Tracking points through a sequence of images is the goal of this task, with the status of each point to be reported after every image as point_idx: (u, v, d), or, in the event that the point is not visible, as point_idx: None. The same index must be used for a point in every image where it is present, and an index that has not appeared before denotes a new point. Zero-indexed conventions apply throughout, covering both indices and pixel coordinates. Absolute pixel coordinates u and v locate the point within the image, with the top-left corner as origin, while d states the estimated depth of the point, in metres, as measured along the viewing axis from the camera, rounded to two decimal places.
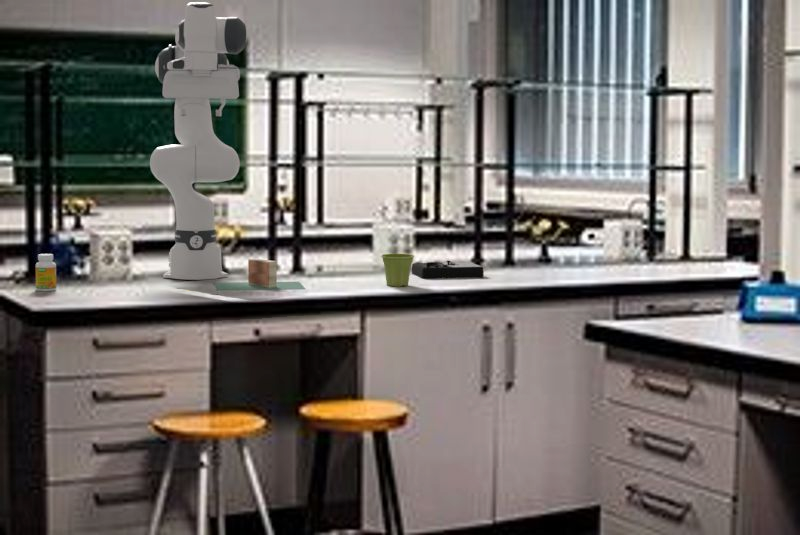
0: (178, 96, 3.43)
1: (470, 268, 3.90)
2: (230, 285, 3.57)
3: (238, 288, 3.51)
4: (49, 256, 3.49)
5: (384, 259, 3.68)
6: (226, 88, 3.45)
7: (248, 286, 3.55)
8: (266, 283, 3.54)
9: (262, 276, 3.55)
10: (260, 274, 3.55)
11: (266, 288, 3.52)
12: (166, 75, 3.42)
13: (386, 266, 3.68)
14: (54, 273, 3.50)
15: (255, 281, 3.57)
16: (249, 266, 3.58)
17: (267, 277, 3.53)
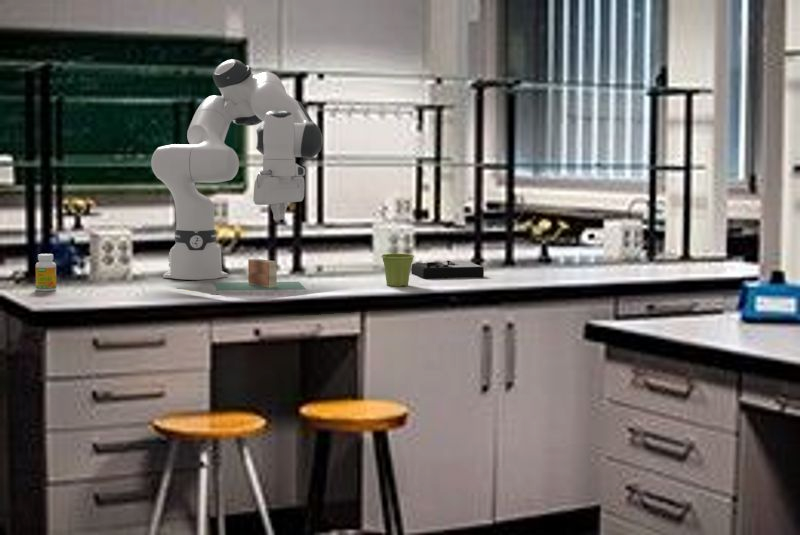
0: None
1: (470, 268, 3.90)
2: (230, 285, 3.57)
3: (238, 288, 3.51)
4: (49, 256, 3.49)
5: (384, 259, 3.68)
6: None
7: (248, 286, 3.55)
8: (266, 283, 3.54)
9: (262, 276, 3.55)
10: (260, 274, 3.55)
11: (266, 288, 3.52)
12: None
13: (386, 266, 3.68)
14: (54, 273, 3.50)
15: (255, 281, 3.57)
16: (249, 266, 3.58)
17: (267, 277, 3.53)
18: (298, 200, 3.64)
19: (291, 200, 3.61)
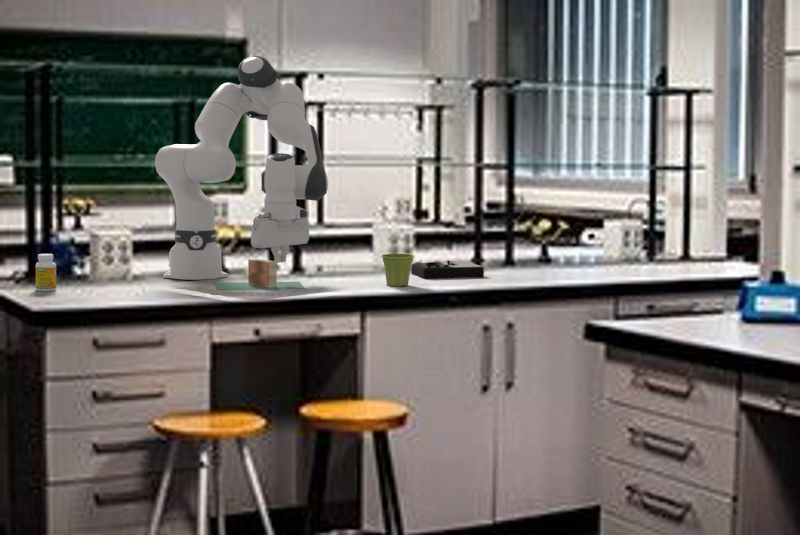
0: None
1: (471, 268, 3.90)
2: (230, 285, 3.57)
3: (238, 288, 3.51)
4: (49, 256, 3.49)
5: (384, 259, 3.68)
6: None
7: (248, 286, 3.55)
8: (266, 283, 3.54)
9: (262, 276, 3.55)
10: (260, 274, 3.55)
11: (266, 288, 3.52)
12: None
13: (386, 266, 3.68)
14: (54, 273, 3.50)
15: (255, 281, 3.57)
16: (249, 266, 3.58)
17: (267, 277, 3.53)
18: (302, 242, 3.65)
19: (293, 242, 3.62)
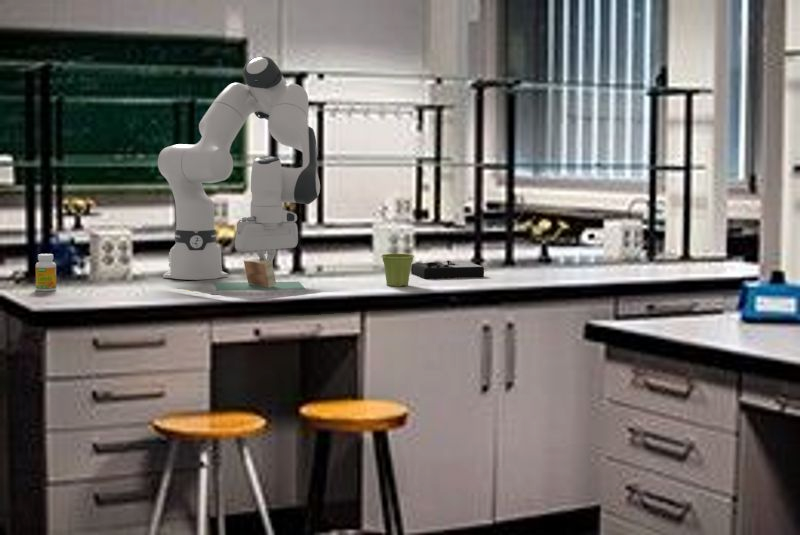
0: None
1: (471, 268, 3.90)
2: (230, 285, 3.57)
3: (238, 288, 3.51)
4: (49, 256, 3.49)
5: (384, 259, 3.68)
6: None
7: (248, 286, 3.55)
8: (265, 283, 3.54)
9: (260, 277, 3.54)
10: (258, 275, 3.55)
11: (266, 288, 3.52)
12: None
13: (386, 266, 3.68)
14: (54, 273, 3.50)
15: (254, 281, 3.57)
16: (245, 267, 3.58)
17: (265, 278, 3.53)
18: (290, 246, 3.61)
19: (280, 246, 3.58)
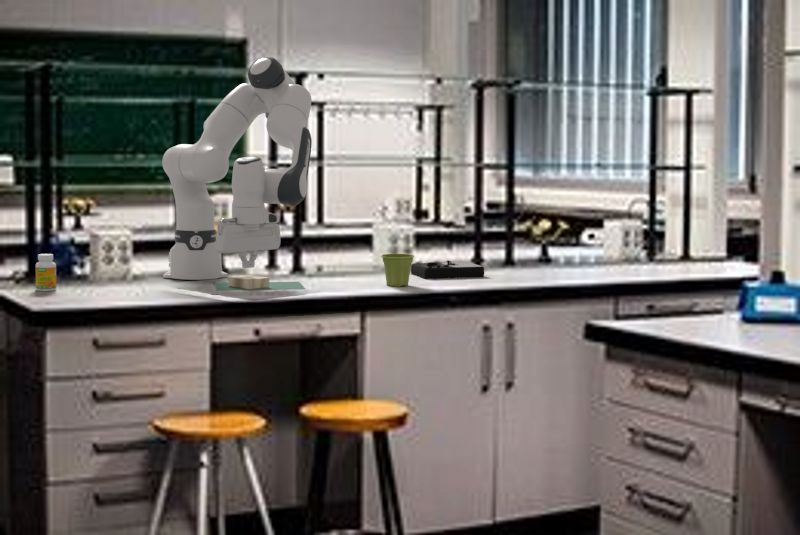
0: None
1: (471, 268, 3.90)
2: None
3: (238, 288, 3.51)
4: (49, 256, 3.49)
5: (384, 259, 3.68)
6: None
7: None
8: (263, 287, 3.53)
9: None
10: None
11: (266, 288, 3.52)
12: None
13: (386, 266, 3.68)
14: (54, 273, 3.50)
15: None
16: None
17: None
18: (272, 248, 3.57)
19: (262, 247, 3.54)
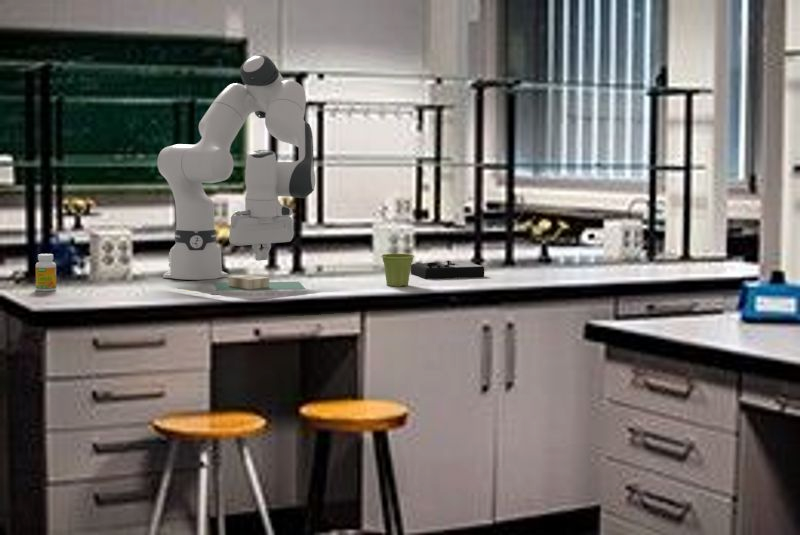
0: None
1: (471, 268, 3.90)
2: None
3: (238, 288, 3.51)
4: (49, 256, 3.49)
5: (384, 259, 3.68)
6: None
7: None
8: (263, 287, 3.53)
9: None
10: None
11: (266, 288, 3.52)
12: None
13: (386, 266, 3.68)
14: (54, 273, 3.50)
15: None
16: None
17: None
18: (285, 240, 3.60)
19: (275, 240, 3.57)
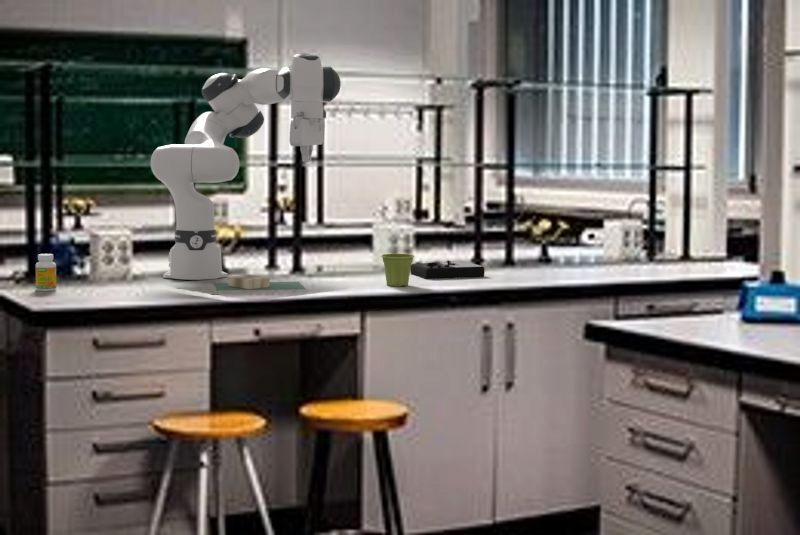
0: None
1: (472, 268, 3.90)
2: None
3: (238, 288, 3.51)
4: (49, 256, 3.49)
5: (384, 259, 3.68)
6: None
7: None
8: (263, 287, 3.53)
9: None
10: None
11: (266, 288, 3.52)
12: None
13: (386, 266, 3.68)
14: (54, 273, 3.50)
15: None
16: None
17: None
18: (320, 143, 3.71)
19: (316, 142, 3.67)
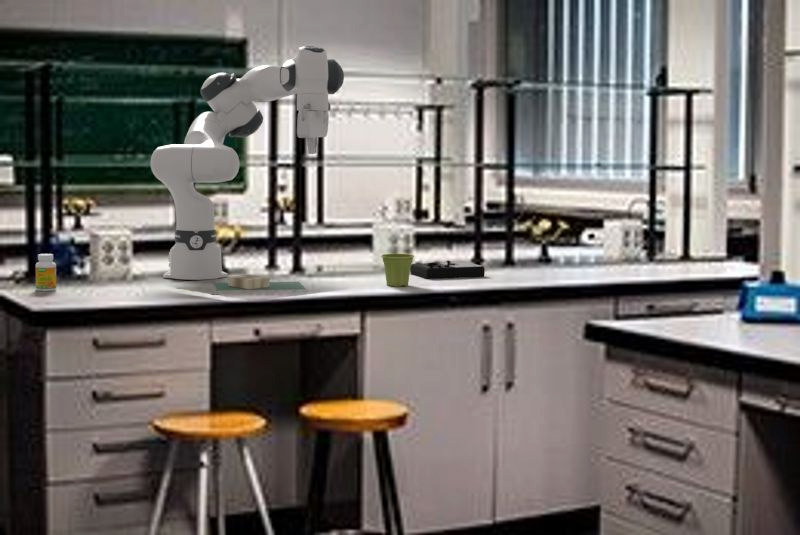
0: None
1: (472, 268, 3.91)
2: None
3: (238, 288, 3.51)
4: (49, 256, 3.49)
5: (384, 259, 3.68)
6: None
7: None
8: (263, 287, 3.53)
9: None
10: None
11: (266, 288, 3.52)
12: None
13: (386, 266, 3.68)
14: (54, 273, 3.50)
15: None
16: None
17: None
18: (324, 135, 3.72)
19: (321, 134, 3.69)
